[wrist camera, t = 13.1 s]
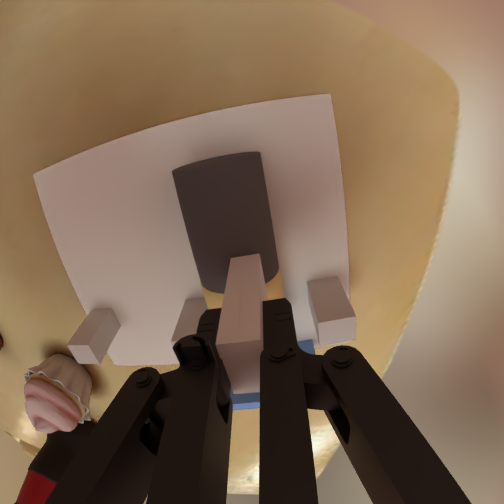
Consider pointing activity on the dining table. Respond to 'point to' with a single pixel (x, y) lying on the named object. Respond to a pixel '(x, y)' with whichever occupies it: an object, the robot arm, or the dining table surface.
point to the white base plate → (175, 235)
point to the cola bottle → (52, 463)
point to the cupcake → (57, 394)
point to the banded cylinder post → (227, 220)
